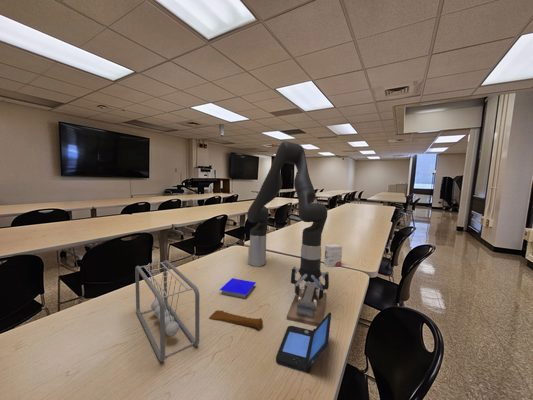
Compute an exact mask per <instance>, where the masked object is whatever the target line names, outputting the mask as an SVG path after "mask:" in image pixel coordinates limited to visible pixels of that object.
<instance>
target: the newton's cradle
mask: <svg viewBox="0 0 533 400" xmlns="http://www.w3.org/2000/svg"><path fill="white" fill-rule="evenodd" d="M156 265H162V266H163V267H160V268H159V270H160V269H162V268H163V271H162V272H161V274H162V277H161V281H160V283H159V282H158V281H157V280H158V279H160V277H159V278H155V277H154V276H153V275H156V273H154V274H152V273H151V272H152V271H153V269H152V270H149V269H147V267H151V266H156ZM168 267H169V268H170V269H171V270H172V271H173V272H174V273H175V274H176V275H177V276H178V277H180V279H179V278H178V277H177V276H176V275H175V274H174V273H173V272H172V271H171V270H170V269H169V268H168ZM142 268H144V270H145V271H146V272H147V273H148V274H149V277H150V278H149V277H148V276H147V274H146V273H145V272H144V271H143V269H142ZM134 269H135V271H134V273H135V310H136V314H137V317H138V319H139V321H140V323H141V325H142V328H143V330H144V332H145V334H146V336H147V338H148V340H149V342H150V343H151V346H152V349H153V350H154V353H155V355H156V358H157V359H158V361H159V362H161V363H162V362H164V361H165V359H166V357H169V356H171V355H173V354H175V353H177V352H179V351H181V350H184V349H185V348H188V347H190V346H192V345H193V346H195V347H197V346H198V345H199V343H200V291H199V288H198V286H197V285H196V284H194V282H192V281H191V280H189V278H188V277H186V276H185V274H183V273H182V272H181V271H180V270H179V269H178V268H177V267H176V266H174V265H173V264H172V263H171V262H170V261H169V260H167V259H166V260H164V261H163V262H157V263H152V264H148V265H141V266H140V265H136V266H135V268H134ZM156 270H158V268H156V269H154V271H156ZM169 273H170V274H171V275H170V274H169ZM159 274H160V272H158V273H157V275H159ZM168 274H169V275H168ZM140 276H141V277H142V279H143V281H144V282H145V284H147V286H148V287H149V289H150V291H151V292H152V293H153V295H154V298H155V299H154V300H153V301H152V302H151V303H150V304H151V305H150V308H151V309H148V310H145V311H142V312H141V307H140V306H141V305H140V304H141V302H140V300H141V299H140ZM168 276H169V277H170V280H169V281H168ZM173 277H174V278H175V279H174V285H172V286H171V283H172V281H173ZM181 280H183V281H184V283H185V284H187V285H188V287H190V288H188V287H187V286H186V285H185V284H184V283H183V282H182V281H181ZM168 282H169V286H168ZM176 282H179V283H177V284H176ZM162 284H163V287H162ZM176 285H177V286H178V285H179V289H178V291H177V292H175V291H173V293H171V294H170V291H168V290H170V288H172V287H173V290H175V289H176V288H175V287H176ZM181 285H182V286H183V287H184V288H185V290H181ZM156 287H157V288H156ZM158 287H159V288H158ZM192 290H193V291H194V301H195V302H194V303H195V304H194V306H195V307H194V311H195V312H194V316H195V318H194V319H195V320H194V321H195V322H194V323H195V324H194V325H195V326H194V330H195V331H194V336H193V334H192V333H191V332H190V330H189V329H188V328H187V327H186V325H185V324H184V323H183V321H182V320H181V319H180V317H179V316H178V315H177V314H176V311H177V306H178V304H176V305H175V310H173V308H172V304H173V302H171V303H170V304H171V305H170V304H169V303H168V302H169V301H168V300H169V297H172V299H171V301H173V299H174V296H175V295H177V300H176V303H178V302H179V296H180V294H182V293H185V292H188V291H192ZM162 292H163V293H162ZM151 311H154V315H155V316H156V317H157V320H158V322H159V341H160V344H159V346H158V344H157V342H156V340H155V338H154V336H153V333H151V330H150V328H149V325H148V324H147V322H146V320H145V318H144V316H143V314H145V313H148V312H151ZM179 329H181V330H182V331H183V332H184V335H186V337H187V338H188V339H189V340H190V342H191V343H189V344H186V345H185V346H182V347H180V348H178V349H175V350H173V351H172V352H169V353H167V354H166V335H167V336H170V337H171V336H172V337H174V336H176V335H177V334H178V332H179ZM159 347H160V348H159Z"/></svg>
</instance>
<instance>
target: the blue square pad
mask: <svg viewBox="0 0 533 400" xmlns="http://www.w3.org/2000/svg"><path fill="white" fill-rule="evenodd" d="M256 284H257V282H256V281H250V280H244V279H238V278H234V277H233V278H230V279H229V280H228V281H227V282H226V283H225V284H224V285H223V286H222V287H221V288H219V291H221V294H222V295H226V296H231V297H236V298H242V299H246V297H247V296H248V295H249V294H250V293H251V291H252V290H253V288H255V287H254V286H255V285H256Z"/></svg>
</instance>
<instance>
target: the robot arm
mask: <svg viewBox="0 0 533 400" xmlns="http://www.w3.org/2000/svg"><path fill="white" fill-rule="evenodd" d="M284 164H289V165H294V166H295V168H296V174H295V177H294V180H293V185H294V189H295V193H296V196H297V200H298V203H297V204H298V212H297V213H298V216H299V217H298V218H300V220H301V221H302V222H304V223H312V224H311V225H310V226H308V227H305V228H304V229H303V230H302V237H301V238H302V240H301V248H300V267H299V268H297V267H296V266H293V267H292V268H291V274H290V275H291V277H290V284H293V285H294V286H295V287H294V292H295V294H296V293H297V295H299V289H301V286H300V284H302V282H304V283H306V282H311V283H316V285H317V286H318V287H319V299H320V300H321V298H323V293H324V290H325V291H328V290H329V287H330V284H329V283H330V279H329V278H330V277H329V276H330V275H329V271H325V272H324V271H323V272H322V271H321V263H322V261H321V260H322V233H323V231H324V229H325V228H324V227H325V225H326V222H327V219H328V208H327V206H326V205H325V204H324V203H322V202H312V201H314V200H315V199H316V196H317V194H316V191H315V188H314V186H313V183H312V180H311V177H310V174H309V173H310V172H309V168H308V162H307V157H306V153H305V149H304V146H302V144H299V143H295V142H290V141H283V142H281V143H280V145H279V146H278V148H277V150H276V153H275V156H274V158H273V161H272V164H271V166H270V167H269V171H268V173H267V175H266V177H265V178H264V179H263V183H262V184H261V186H260V190H259V191H258V193H257V195H256V196H255V198H254V200H253V202H252V203H251V204H250V206H249V208H248V210H247V215H246V217H247V220H248V222H249V223H251V224H252V223H253V224H256V225H255V226H253V227H251V228H250V230H249V247H248V253H247V254H248V255H247V259H248V260H247V264H248V265H250V264H251V265H250V266H252V265H253V266H252V267H257V266H259V267H263V266H262V265H264V264H265V265H266V261H267V260H266V258H267V257H266V256H267V233H268V232H267V231H268V228H269V227H268V226H269V210H268V208H267V206H266V205H268V204H269V203H270V202H272V201H273V200H275V198H276V197H277V196H278V194H279V193H280V191H281V189H282V187H283V179H282V178H283V177H282V173H281V171H282V167H283V166H284ZM265 265H264V266H265ZM298 273H299V275H300V276H299V278H298V279H296V275H297V274H298ZM320 277H322V279H323V280H324V284H323V282H322V281H321V279H320Z"/></svg>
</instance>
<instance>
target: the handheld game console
mask: <svg viewBox="0 0 533 400" xmlns="http://www.w3.org/2000/svg"><path fill="white" fill-rule="evenodd" d="M331 320H332V313H331V312H328V313H327V314H326V315H325V317H323V320H322V322H321V323H320V324H319V325H318V326H316V328H313V329H309V328H308V329H307V328H304V327H299V326H294V325H289V326H287V327H286V330H285V333H284V335H283V338H282V340H281V343H280V346H279V348H278V351H277V353H276V356H275V362H276V363H277V364H278V365H281V366H285V367H288V368H291V369H295V370H299V371H302V372H305V373H307V374H309V373H310V371H311V367H312V366H313V364H314V363H315V362H316V361H317V360H318V359H319V357H320V356H321V355H323V353H324V352H325V351H326V350H327V348H328V346H329V339H330V332H331V331H330V329H331V323H332V321H331Z"/></svg>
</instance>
